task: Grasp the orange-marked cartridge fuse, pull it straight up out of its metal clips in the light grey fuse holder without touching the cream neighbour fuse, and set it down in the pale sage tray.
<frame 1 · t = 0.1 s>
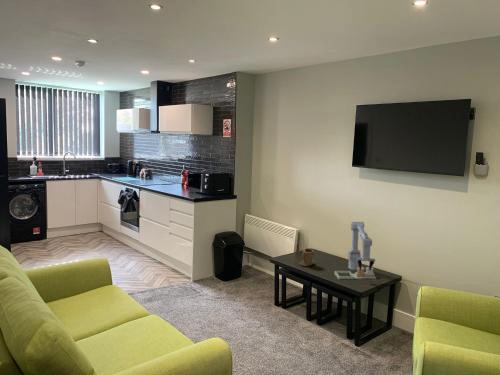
hand: (365, 269, 308), 10 cm above the table, fingers open, 7 cm apart
tray: (344, 277, 318), on the table
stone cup: (307, 265, 346), on the table
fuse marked: (360, 275, 319), point 1 cm above the table, touching fuse block
fuse block: (363, 277, 319), on the table
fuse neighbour: (369, 275, 319), point 1 cm above the table, touching fuse block
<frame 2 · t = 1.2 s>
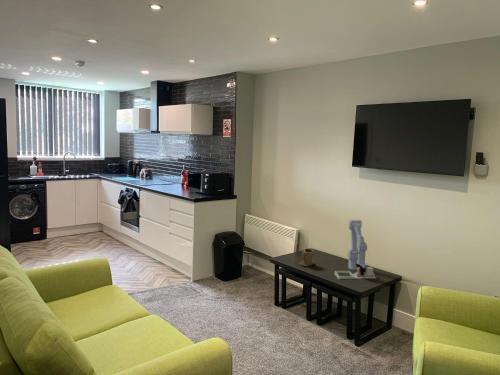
hand: (360, 273, 318), 3 cm above the table, fingers open, 7 cm apart
nothing on the table moved.
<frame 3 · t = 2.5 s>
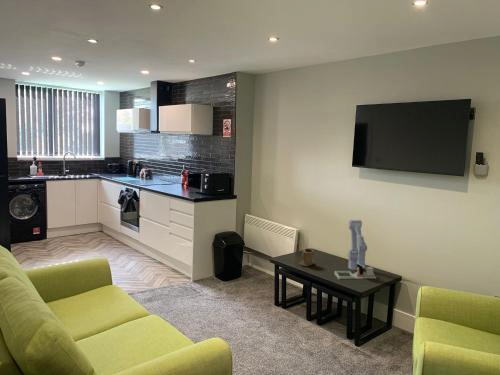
hand: (360, 273, 318), 3 cm above the table, fingers closed on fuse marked, 3 cm apart
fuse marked: (360, 275, 319), point 1 cm above the table, touching fuse block, gripper
everything else where it was.
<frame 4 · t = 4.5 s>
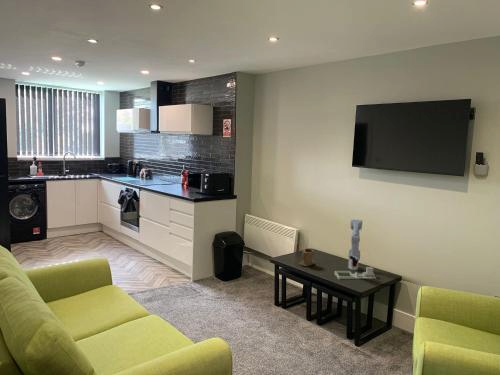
hand: (353, 265, 317), 10 cm above the table, fingers closed on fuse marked, 3 cm apart
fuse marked: (353, 267, 317), point 8 cm above the table, touching gripper
everything else where it was.
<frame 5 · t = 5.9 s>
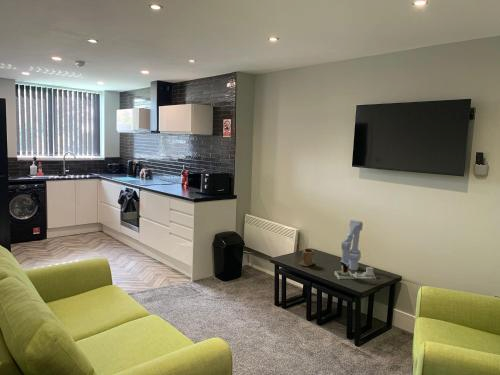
hand: (344, 271, 317), 5 cm above the table, fingers closed on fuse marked, 3 cm apart
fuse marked: (344, 273, 318), point 3 cm above the table, touching gripper
everything else where it was.
when the fingers open (4 cm above the table, at t = 6.7 s): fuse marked drops 2 cm, resting on tray.
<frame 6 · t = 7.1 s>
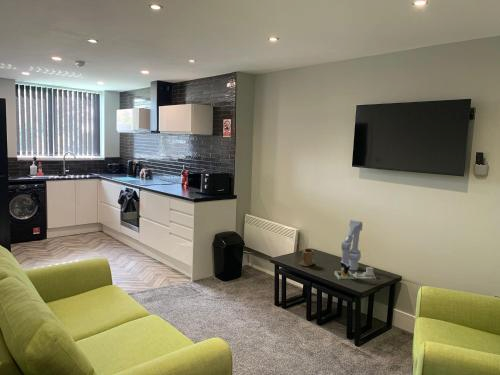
hand: (344, 272, 317), 4 cm above the table, fingers open, 6 cm apart
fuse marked: (344, 276, 318), point 1 cm above the table, touching tray
everything else where it was.
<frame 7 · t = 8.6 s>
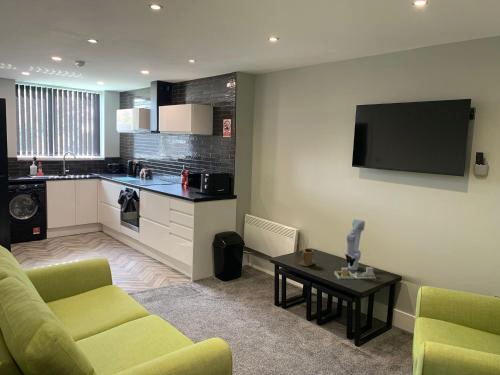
hand: (349, 264, 321), 9 cm above the table, fingers open, 7 cm apart
nothing on the table moved.
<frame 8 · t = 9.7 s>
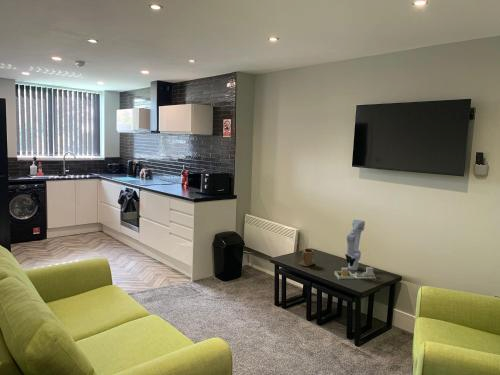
hand: (349, 264, 321), 9 cm above the table, fingers open, 7 cm apart
nothing on the table moved.
at the end: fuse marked inside the target area on the tray (0.1 cm from its centre), point 0.6 cm above the tray's base; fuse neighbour moved 0.0 cm from its start; the gripper is holding nothing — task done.
